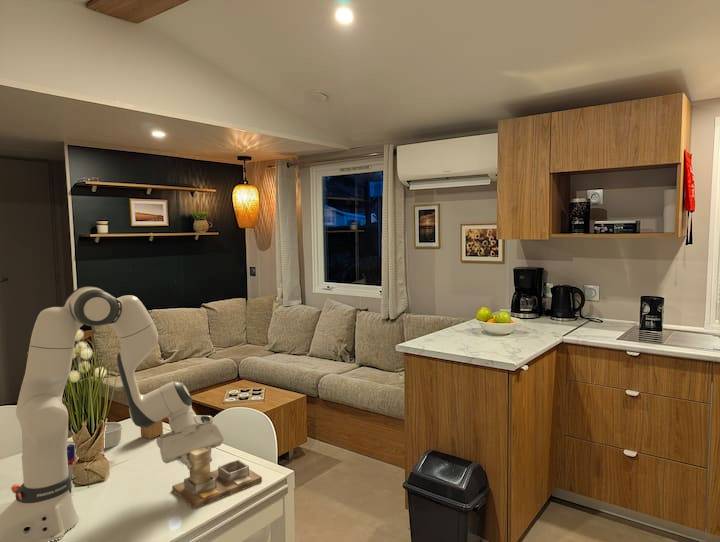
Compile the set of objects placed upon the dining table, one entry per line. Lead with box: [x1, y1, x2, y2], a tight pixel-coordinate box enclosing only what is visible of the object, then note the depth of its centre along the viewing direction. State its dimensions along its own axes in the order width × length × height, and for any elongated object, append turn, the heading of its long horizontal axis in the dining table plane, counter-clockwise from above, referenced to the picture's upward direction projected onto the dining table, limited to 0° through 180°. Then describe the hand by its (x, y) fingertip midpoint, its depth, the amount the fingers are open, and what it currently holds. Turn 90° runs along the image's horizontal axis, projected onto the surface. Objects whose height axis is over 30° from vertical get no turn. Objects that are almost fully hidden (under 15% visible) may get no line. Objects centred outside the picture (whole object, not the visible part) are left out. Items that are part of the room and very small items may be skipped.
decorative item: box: [140, 388, 164, 440], centre depth 212 cm, size 7×7×20 cm
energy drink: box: [67, 440, 78, 481], centre depth 176 cm, size 5×5×12 cm
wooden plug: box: [188, 447, 211, 485], centre depth 163 cm, size 5×5×10 cm
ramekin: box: [104, 421, 123, 450], centre depth 205 cm, size 13×13×7 cm
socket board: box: [171, 459, 263, 509], centre depth 168 cm, size 24×16×4 cm, turn 133°
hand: (200, 465), depth 163 cm, fingers closed on wooden plug, 5 cm apart
